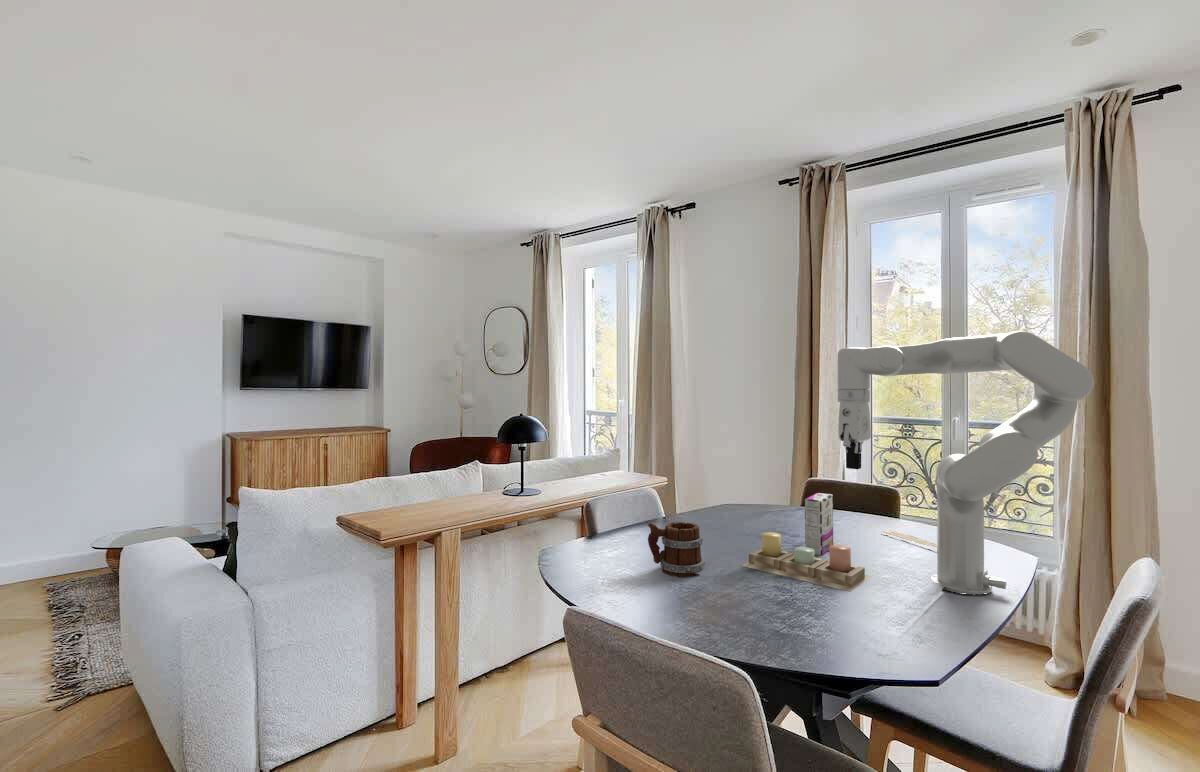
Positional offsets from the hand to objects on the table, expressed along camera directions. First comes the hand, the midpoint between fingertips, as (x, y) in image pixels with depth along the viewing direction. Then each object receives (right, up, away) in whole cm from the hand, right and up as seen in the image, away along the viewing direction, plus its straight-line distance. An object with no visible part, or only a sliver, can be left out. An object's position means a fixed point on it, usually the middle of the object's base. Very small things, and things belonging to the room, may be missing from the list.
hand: (853, 468), depth 150 cm
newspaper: (+32, -28, +29) cm, 52 cm away
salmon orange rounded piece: (-6, -23, -6) cm, 25 cm away
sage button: (-13, -26, 0) cm, 29 cm away
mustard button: (-19, -23, +6) cm, 31 cm away
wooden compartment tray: (-13, -27, 0) cm, 30 cm away
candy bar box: (-2, -27, +19) cm, 33 cm away
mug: (-45, -28, +4) cm, 53 cm away
